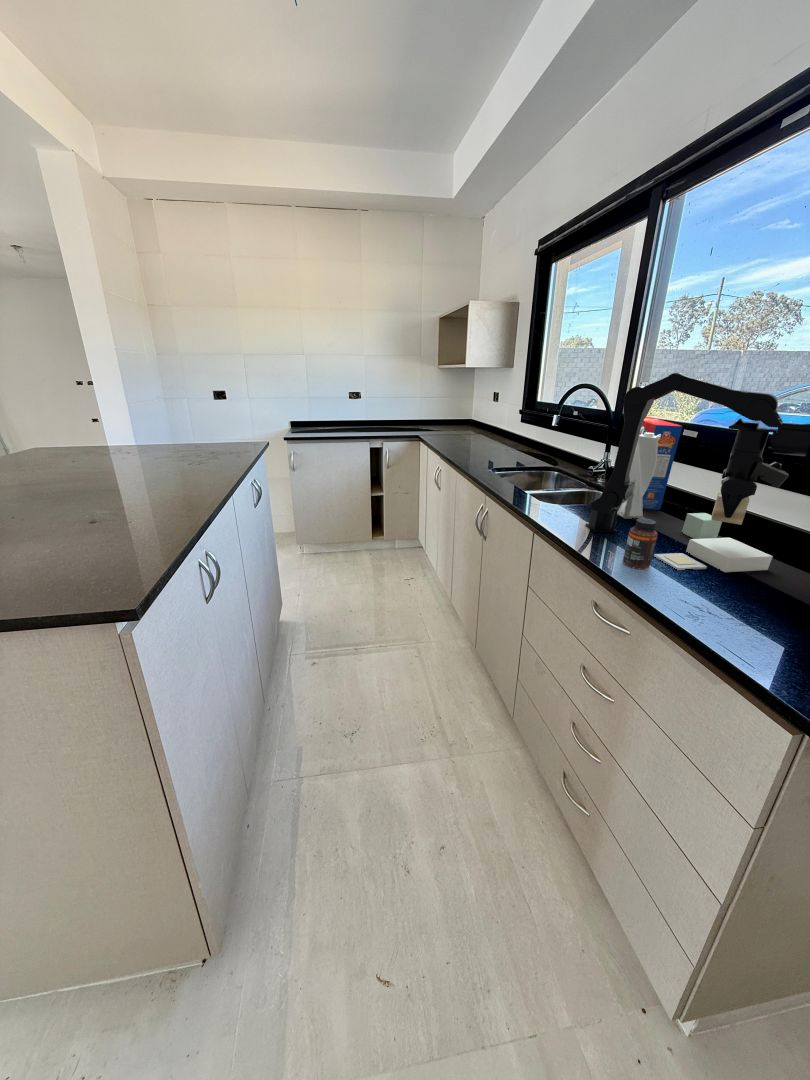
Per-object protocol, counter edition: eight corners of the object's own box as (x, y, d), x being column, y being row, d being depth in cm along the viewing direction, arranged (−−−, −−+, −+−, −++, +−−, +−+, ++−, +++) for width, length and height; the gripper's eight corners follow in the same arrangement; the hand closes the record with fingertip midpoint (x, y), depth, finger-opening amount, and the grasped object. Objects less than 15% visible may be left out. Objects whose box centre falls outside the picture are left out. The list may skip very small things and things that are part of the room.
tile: (676, 570, 101) (677, 567, 101) (653, 556, 109) (654, 553, 108) (706, 568, 103) (707, 565, 102) (681, 555, 110) (682, 552, 110)
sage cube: (697, 540, 120) (703, 520, 118) (681, 532, 126) (687, 513, 124) (716, 539, 121) (722, 519, 119) (699, 532, 127) (705, 513, 125)
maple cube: (741, 524, 102) (749, 500, 100) (711, 519, 105) (718, 496, 103) (741, 518, 106) (748, 495, 104) (712, 513, 110) (718, 490, 107)
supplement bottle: (647, 561, 106) (658, 518, 101) (651, 571, 100) (663, 526, 96) (620, 557, 107) (630, 515, 103) (623, 567, 102) (634, 522, 98)
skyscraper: (610, 511, 144) (629, 425, 133) (632, 511, 145) (653, 426, 134) (624, 519, 136) (646, 429, 126) (648, 519, 137) (671, 430, 127)
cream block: (724, 573, 102) (729, 558, 100) (685, 553, 112) (689, 539, 111) (766, 571, 103) (772, 556, 102) (724, 551, 114) (729, 537, 113)
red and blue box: (610, 487, 173) (626, 415, 162) (631, 488, 172) (648, 416, 161) (635, 508, 147) (655, 424, 136) (660, 510, 146) (682, 426, 135)
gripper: (797, 460, 88) (772, 531, 94) (788, 449, 102) (766, 511, 108) (731, 454, 94) (711, 521, 100) (731, 444, 108) (713, 503, 114)
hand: (727, 514), depth 105 cm, fingers closed on maple cube, 6 cm apart
